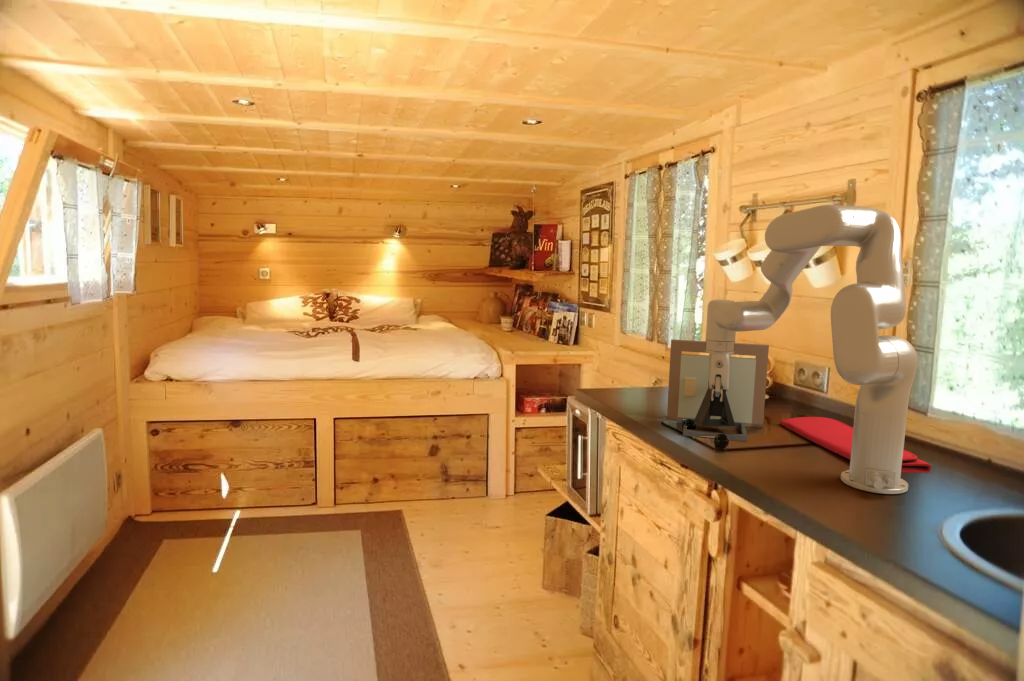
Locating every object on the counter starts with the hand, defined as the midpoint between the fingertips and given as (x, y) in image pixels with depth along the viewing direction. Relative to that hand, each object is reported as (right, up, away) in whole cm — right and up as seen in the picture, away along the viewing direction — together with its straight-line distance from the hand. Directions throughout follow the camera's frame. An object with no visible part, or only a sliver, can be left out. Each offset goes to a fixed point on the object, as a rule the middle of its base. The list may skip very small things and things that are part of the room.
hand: (715, 412), depth 181 cm
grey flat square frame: (0, -5, +1) cm, 5 cm away
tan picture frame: (+3, -4, +10) cm, 11 cm away
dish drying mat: (+30, -8, -10) cm, 33 cm away
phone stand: (0, -3, 0) cm, 3 cm away
